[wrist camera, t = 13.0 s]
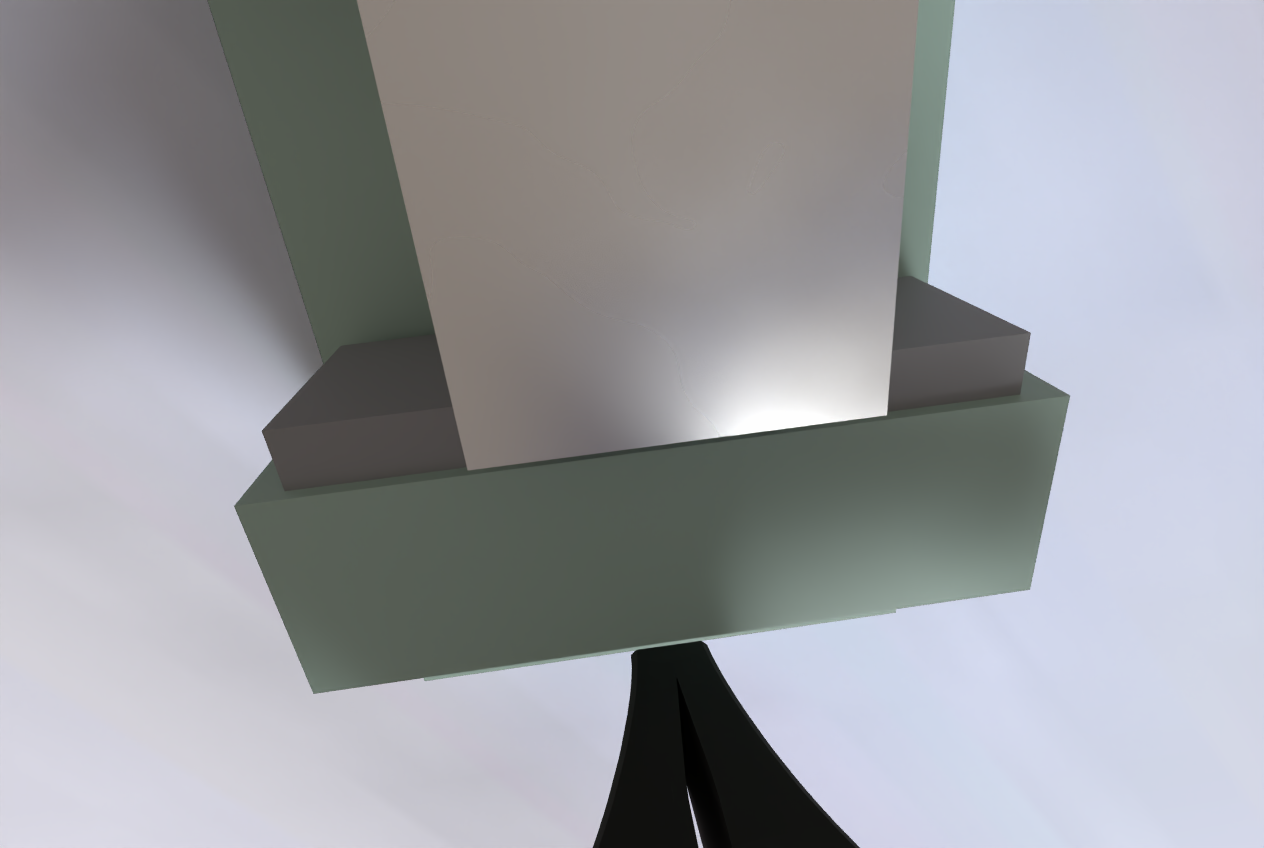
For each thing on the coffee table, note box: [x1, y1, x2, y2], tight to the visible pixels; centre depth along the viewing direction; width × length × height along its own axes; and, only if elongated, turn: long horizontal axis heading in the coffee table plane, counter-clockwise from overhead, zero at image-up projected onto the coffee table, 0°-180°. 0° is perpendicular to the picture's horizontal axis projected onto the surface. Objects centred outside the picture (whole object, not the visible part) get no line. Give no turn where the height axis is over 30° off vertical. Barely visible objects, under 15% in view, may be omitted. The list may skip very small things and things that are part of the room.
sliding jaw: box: [234, 276, 1070, 694], centre depth 10 cm, size 10×4×4 cm, turn 96°
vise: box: [208, 0, 955, 681], centre depth 9 cm, size 10×20×5 cm, turn 6°
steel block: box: [357, 0, 919, 470], centre depth 7 cm, size 4×6×5 cm, turn 6°
